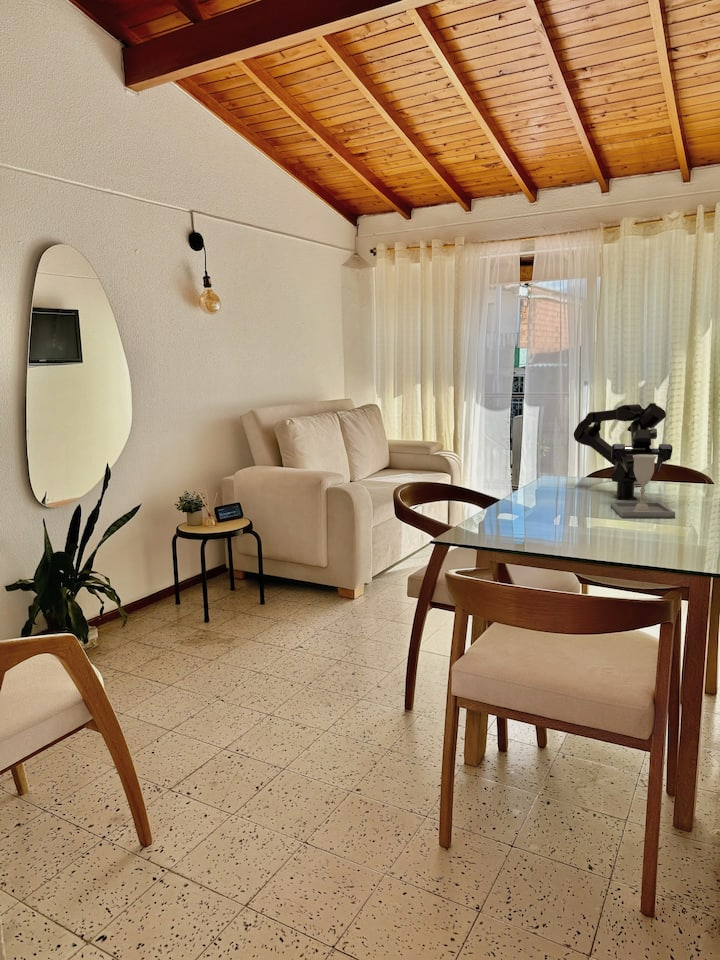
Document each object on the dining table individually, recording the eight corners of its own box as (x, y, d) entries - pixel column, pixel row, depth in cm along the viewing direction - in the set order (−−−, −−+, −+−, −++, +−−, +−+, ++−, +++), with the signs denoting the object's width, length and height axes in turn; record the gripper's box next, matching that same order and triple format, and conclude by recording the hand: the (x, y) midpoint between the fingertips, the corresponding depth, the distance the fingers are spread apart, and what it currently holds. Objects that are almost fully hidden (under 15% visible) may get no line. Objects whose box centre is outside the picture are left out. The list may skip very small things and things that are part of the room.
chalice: (646, 508, 224) (649, 454, 221) (658, 512, 217) (661, 457, 214) (625, 509, 223) (628, 455, 220) (636, 513, 216) (639, 458, 213)
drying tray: (610, 507, 229) (610, 502, 229) (659, 508, 227) (660, 502, 227) (621, 518, 215) (622, 512, 214) (675, 518, 213) (675, 512, 212)
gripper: (612, 420, 230) (614, 457, 221) (673, 419, 224) (676, 457, 216) (610, 440, 238) (611, 477, 230) (668, 440, 233) (671, 477, 224)
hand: (642, 472), depth 225 cm, fingers open, 9 cm apart
